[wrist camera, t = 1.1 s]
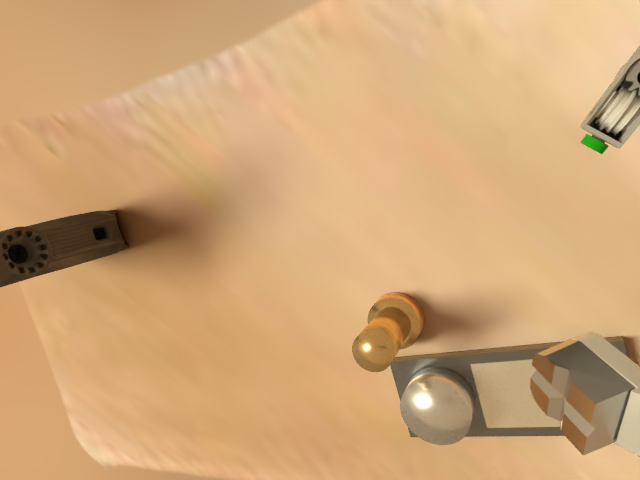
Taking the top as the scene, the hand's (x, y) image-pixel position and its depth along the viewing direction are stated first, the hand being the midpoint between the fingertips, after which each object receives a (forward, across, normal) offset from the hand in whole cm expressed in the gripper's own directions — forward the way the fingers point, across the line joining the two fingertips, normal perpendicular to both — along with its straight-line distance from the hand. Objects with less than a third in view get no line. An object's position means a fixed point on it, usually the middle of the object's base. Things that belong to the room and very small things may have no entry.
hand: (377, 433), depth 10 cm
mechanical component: (+23, -32, +5) cm, 40 cm away
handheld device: (+60, +19, +22) cm, 66 cm away
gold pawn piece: (+29, -13, +26) cm, 41 cm away
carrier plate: (+20, -20, +32) cm, 42 cm away
